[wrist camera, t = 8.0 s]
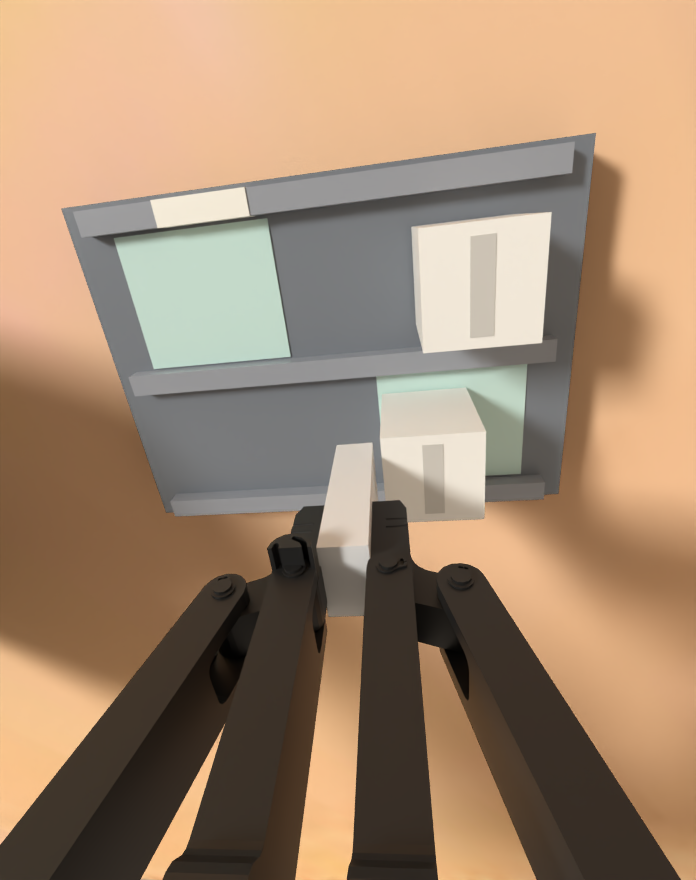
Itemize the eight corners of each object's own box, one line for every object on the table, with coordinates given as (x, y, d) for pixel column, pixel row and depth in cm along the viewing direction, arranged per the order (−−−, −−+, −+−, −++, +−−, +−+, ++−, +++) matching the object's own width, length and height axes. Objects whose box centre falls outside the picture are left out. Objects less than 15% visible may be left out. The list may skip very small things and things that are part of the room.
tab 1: (415, 324, 20) (423, 353, 16) (411, 226, 19) (418, 228, 14) (507, 315, 20) (542, 342, 15) (511, 214, 18) (552, 211, 14)
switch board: (180, 494, 28) (159, 521, 26) (88, 209, 21) (47, 207, 19) (546, 474, 25) (564, 503, 23) (576, 141, 19) (605, 128, 16)
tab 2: (388, 465, 24) (387, 523, 19) (381, 394, 22) (379, 438, 17) (465, 461, 23) (484, 519, 19) (465, 387, 21) (486, 431, 17)
